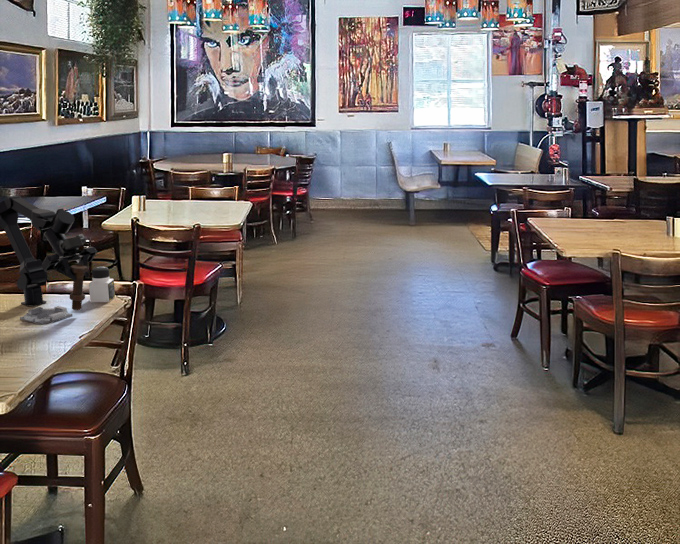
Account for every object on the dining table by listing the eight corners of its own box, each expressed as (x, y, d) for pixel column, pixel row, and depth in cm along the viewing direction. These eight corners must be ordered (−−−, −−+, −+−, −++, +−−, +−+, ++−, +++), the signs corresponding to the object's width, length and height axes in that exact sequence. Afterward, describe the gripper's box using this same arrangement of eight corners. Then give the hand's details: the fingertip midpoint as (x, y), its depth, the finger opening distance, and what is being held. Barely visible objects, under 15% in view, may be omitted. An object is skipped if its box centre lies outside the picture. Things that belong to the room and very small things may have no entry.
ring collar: (17, 319, 271) (16, 313, 270) (51, 310, 281) (50, 304, 281) (41, 325, 263) (40, 319, 263) (75, 315, 274) (74, 309, 273)
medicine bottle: (109, 302, 290) (107, 269, 287) (90, 302, 290) (87, 270, 288) (115, 297, 297) (112, 265, 294) (96, 297, 297) (93, 265, 294)
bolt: (79, 312, 269) (81, 269, 266) (65, 310, 270) (67, 266, 267) (87, 308, 275) (90, 266, 272) (74, 306, 276) (76, 263, 273)
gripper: (43, 231, 261) (67, 269, 258) (91, 223, 276) (114, 259, 272) (31, 252, 268) (54, 289, 264) (79, 243, 282) (101, 278, 279)
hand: (82, 278), depth 269 cm, fingers closed on bolt, 5 cm apart
